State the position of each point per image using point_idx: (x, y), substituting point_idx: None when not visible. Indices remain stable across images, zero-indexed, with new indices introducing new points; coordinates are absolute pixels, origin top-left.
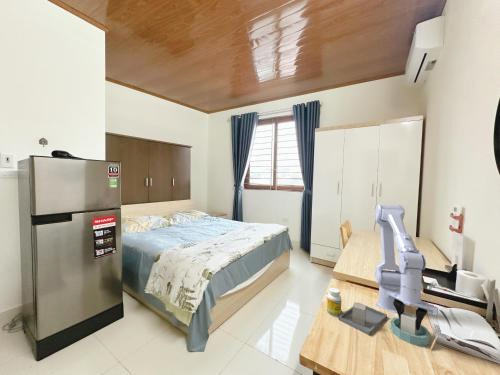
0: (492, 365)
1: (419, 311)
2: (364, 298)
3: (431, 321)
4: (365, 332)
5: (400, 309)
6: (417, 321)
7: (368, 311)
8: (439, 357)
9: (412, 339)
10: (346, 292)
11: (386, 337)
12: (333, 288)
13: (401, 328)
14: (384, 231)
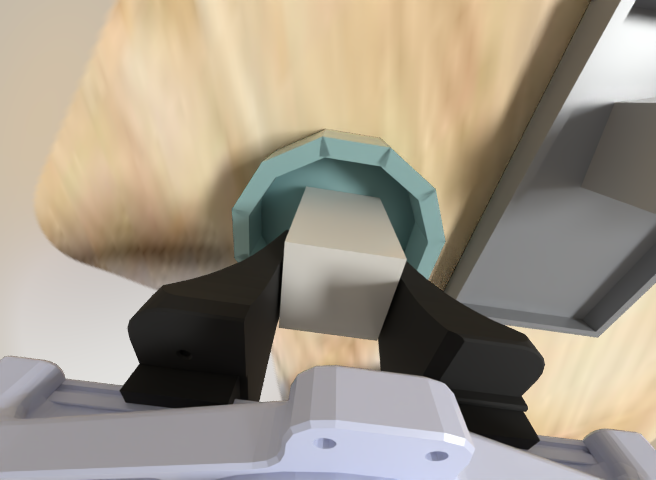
0: (49, 235)
1: (200, 335)
2: None
3: (276, 374)
4: None
5: (426, 308)
6: (272, 257)
7: (534, 299)
8: (187, 121)
9: (310, 138)
10: (613, 392)
11: (457, 98)
12: None
13: (379, 206)
14: None
